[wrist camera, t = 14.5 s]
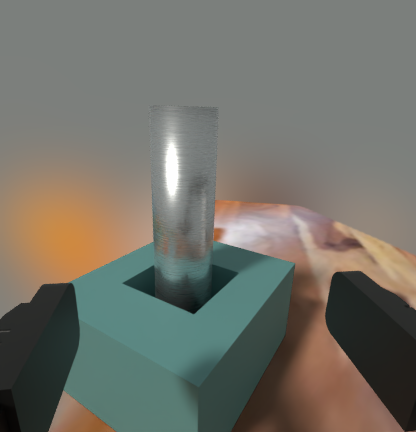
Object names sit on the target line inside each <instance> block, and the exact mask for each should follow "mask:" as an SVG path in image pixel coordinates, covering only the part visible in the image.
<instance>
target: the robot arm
mask: <svg viewBox="0 0 416 432" xmlns="http://www.w3.org/2000/svg"><path fill="white" fill-rule="evenodd" d="M325 318H326V324H327V327H328V330H329V332H330V333H331V335H332V336H333V337H334V339H335V340H336V341H337V343H338V344H339V345H340V347H341V348H342V349H343V351H344V352H345V353H346V355H347V356H348V357H349V359H350V360H351V361H352V363H353V364H354V365H355V366H356V368H357V369H358V370H359V372H360V373H361V374H362V376H363V377H364V378H365V380H366V381H367V382H368V384H369V385H370V386H371V388H372V389H373V390H374V392H375V393H376V394H377V396H378V397H379V398H380V400H381V401H382V402H383V404H384V405H385V406H386V408H387V409H388V410H389V411H390V413H391V414H392V415H393V417H394V418H395V419H396V421H397V422H398V423H399V425H400V426H401V427H402V429H403V430H404V431H405V432H407V431H415V430H416V310H415V309H414V308H412V307H411V308H410V307H409V305H408V304H407V303H406V302H405V301H403V300H402V299H401V298H400V297H398V296H397V295H396V294H394V293H392V292H390V291H388V290H386V289H384V288H382V287H380V286H379V285H378V284H377V283H375V282H374V281H373V280H372V279H370V278H369V277H368V276H367V275H365V274H364V273H363V272H361V271H347V272H336V273H335V274H334V275H333V277H332V280H331V286H330V291H329V296H328V302H327V307H326V313H325ZM79 340H80V326H79V318H78V310H77V302H76V294H75V288H74V285H73V284H72V283H59V284H44V285H42V286H41V287H40V289H39V290H38V291H37V293H36V294H35V296H34V297H33V299H32V300H31V302H30V303H21V304H19V305H18V306H16V307H15V308H14V309H12V310H11V311H10V312H8V313H6V314H5V315H4V316H3V317H2V318H1V319H0V432H48V431H49V428H50V425H51V423H52V420H53V417H54V414H55V412H56V409H57V406H58V403H59V400H60V398H61V395H62V392H63V389H64V387H65V384H66V381H67V378H68V376H69V373H70V370H71V367H72V364H73V362H74V359H75V356H76V353H77V350H78V346H79Z"/></svg>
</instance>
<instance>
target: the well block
mask: <svg viewBox="0 0 416 432" xmlns="http://www.w3.org/2000/svg"><path fill="white" fill-rule="evenodd" d="M294 269H295V263H292V262H288V261H285V260H281V259H278V258H274V257H270V256H267V255H263V254H259V253H256V252H252V251H248V250H245V249H241V248H238V247H234V246H230V245H227V244H223V243H219V242H216V241H213V262H212V288H211V299H210V300H209V301H208V302H207V303H206V304H205V305H204V306H203V307H202V308H201V309H199V310H198V311H197V312H196V313H195V314H192V313H189V312H187V311H185V310H183V309H180V308H178V307H176V306H173V305H171V304H169V303H166V302H164V301H162V300H159V299H157V298H155V269H154V242H152V243H150V244H148V245H146V246H144V247H142V248H140V249H138V250H135V251H133V252H131V253H129V254H127V255H125V256H123V257H121V258H119V259H117V260H115V261H112V262H110V263H109V264H106V265H104V266H102V267H100V268H98V269H96V270H94V271H91V272H90V273H87V274H85V275H83V276H81V277H79V278H77V279H75V280H73V281H71V282H69V283H72V284H73V285H74V288H75V294H76V302H77V310H78V318H79V326H80V340H79V346H78V350H77V353H76V356H75V359H74V362H73V364H72V367H71V370H70V373H69V376H68V378H67V381H66V384H65V387H64V389H63V390H64V391H65V392H67V393H68V394H69V395H70V396H72V397H73V398H74V399H76V400H77V401H78V402H79V403H81V404H82V405H83V406H84V407H86V408H87V409H88V410H90V411H91V412H92V413H93V414H95V415H96V416H97V417H99V418H100V419H101V420H102V421H104V422H105V423H106V424H107V425H109V426H110V427H111V428H113V429H114V430H115V431H116V432H231V430H232V428H233V427H234V425H235V423H236V421H237V420H238V418H239V416H240V414H241V413H242V411H243V409H244V407H245V405H246V404H247V402H248V400H249V398H250V397H251V395H252V393H253V391H254V389H255V388H256V386H257V384H258V382H259V381H260V379H261V377H262V375H263V374H264V372H265V370H266V368H267V366H268V365H269V363H270V361H271V359H272V358H273V356H274V354H275V352H276V350H277V349H278V347H279V345H280V343H281V342H282V340H283V338H284V336H285V334H286V326H287V319H288V312H289V305H290V298H291V290H292V283H293V276H294Z"/></svg>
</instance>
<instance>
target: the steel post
mask: <svg viewBox="0 0 416 432" xmlns="http://www.w3.org/2000/svg"><path fill="white" fill-rule="evenodd" d="M218 109H219V108H217V107H216V108H215V107H185V106H154V105H149V118H150V119H149V121H150V151H151V179H152V208H153V209H152V210H153V239H154V269H155V298H157V299H159V300H162V301H164V302H166V303H169V304H171V305H173V306H176V307H178V308H180V309H183V310H185V311H187V312H189V313H192V314H195V313H196V312H197V311H198V310H199V309H201V308H202V307H203V306H204V305H205V304H206V303H207V302H208V301H209V300H210V299H211V288H212V262H213V237H214V211H215V186H216V160H217V134H218V133H217V132H218Z"/></svg>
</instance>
